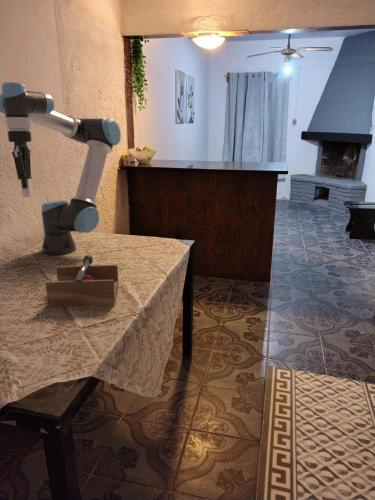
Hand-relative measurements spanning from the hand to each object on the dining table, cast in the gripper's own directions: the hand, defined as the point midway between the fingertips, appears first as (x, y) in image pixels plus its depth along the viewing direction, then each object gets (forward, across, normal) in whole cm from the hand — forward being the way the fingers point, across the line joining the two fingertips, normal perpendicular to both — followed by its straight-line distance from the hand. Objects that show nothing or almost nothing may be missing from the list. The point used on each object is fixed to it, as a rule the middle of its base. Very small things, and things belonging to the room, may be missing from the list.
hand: (27, 196), depth 141 cm
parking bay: (+30, +24, +23) cm, 45 cm away
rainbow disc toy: (+31, +23, +24) cm, 45 cm away
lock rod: (+22, +23, +23) cm, 40 cm away
